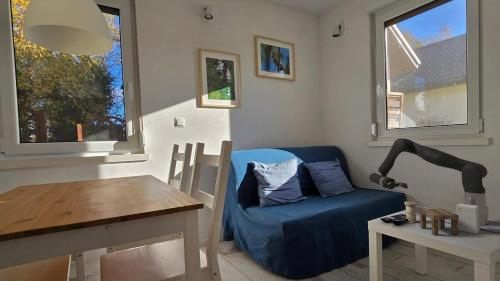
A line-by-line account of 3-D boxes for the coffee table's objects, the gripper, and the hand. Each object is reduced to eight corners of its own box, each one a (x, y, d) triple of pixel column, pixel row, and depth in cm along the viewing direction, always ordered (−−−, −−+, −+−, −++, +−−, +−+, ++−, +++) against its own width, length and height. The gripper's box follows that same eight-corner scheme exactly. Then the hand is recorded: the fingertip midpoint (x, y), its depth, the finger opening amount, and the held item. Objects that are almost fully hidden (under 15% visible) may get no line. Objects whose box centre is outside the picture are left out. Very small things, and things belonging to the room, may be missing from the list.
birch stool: (413, 220, 157) (412, 201, 157) (419, 223, 151) (418, 203, 151) (403, 220, 157) (402, 201, 157) (408, 223, 151) (408, 203, 151)
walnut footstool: (442, 227, 144) (441, 208, 143) (459, 235, 132) (458, 215, 131) (419, 227, 144) (419, 209, 144) (434, 235, 132) (433, 215, 132)
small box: (479, 231, 136) (479, 205, 136) (476, 234, 132) (476, 208, 132) (460, 227, 142) (459, 203, 142) (456, 230, 138) (456, 205, 138)
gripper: (376, 177, 182) (388, 181, 165) (398, 177, 181) (411, 181, 165) (377, 188, 182) (388, 193, 165) (398, 187, 181) (411, 193, 165)
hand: (399, 187), depth 165 cm, fingers open, 8 cm apart
